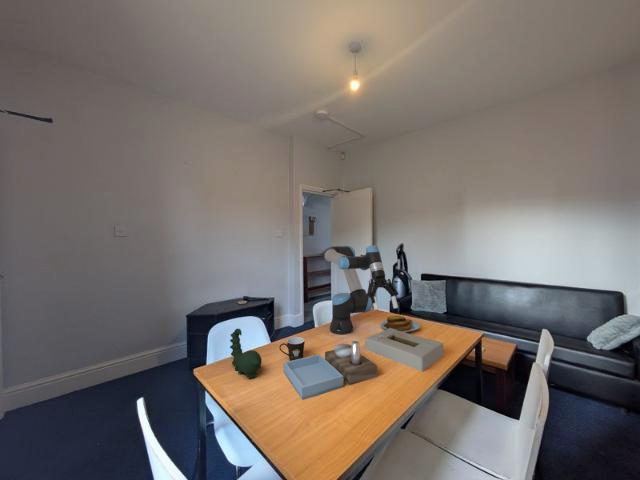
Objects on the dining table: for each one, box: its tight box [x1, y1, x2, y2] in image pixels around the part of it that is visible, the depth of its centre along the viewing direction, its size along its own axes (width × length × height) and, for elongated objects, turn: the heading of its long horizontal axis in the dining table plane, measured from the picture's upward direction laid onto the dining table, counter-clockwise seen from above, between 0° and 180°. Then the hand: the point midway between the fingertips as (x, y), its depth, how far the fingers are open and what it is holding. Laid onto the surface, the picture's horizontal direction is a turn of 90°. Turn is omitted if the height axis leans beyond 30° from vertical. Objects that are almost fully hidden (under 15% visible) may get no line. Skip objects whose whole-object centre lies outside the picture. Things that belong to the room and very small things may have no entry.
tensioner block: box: [324, 343, 378, 386], centre depth 120 cm, size 22×14×8 cm, turn 26°
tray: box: [283, 354, 344, 401], centre depth 111 cm, size 22×18×4 cm
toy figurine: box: [229, 328, 262, 380], centre depth 118 cm, size 9×19×25 cm
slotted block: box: [365, 328, 444, 373], centre depth 136 cm, size 23×8×32 cm
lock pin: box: [351, 340, 361, 366], centre depth 115 cm, size 4×4×14 cm
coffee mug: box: [279, 336, 306, 361], centre depth 129 cm, size 12×9×10 cm
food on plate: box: [380, 315, 422, 333], centre depth 173 cm, size 25×25×7 cm
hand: (386, 308), depth 141 cm, fingers open, 13 cm apart
